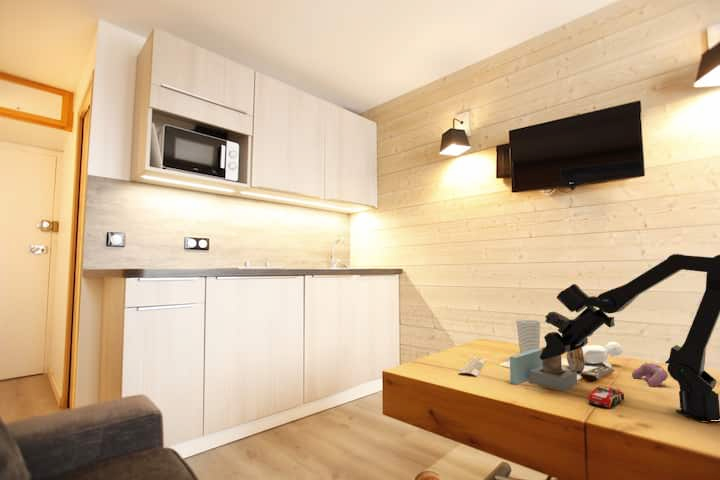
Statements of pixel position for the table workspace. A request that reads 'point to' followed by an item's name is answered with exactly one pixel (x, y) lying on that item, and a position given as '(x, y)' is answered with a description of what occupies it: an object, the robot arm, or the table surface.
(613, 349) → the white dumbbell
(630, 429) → the table surface
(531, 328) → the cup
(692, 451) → the table surface
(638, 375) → the video game controller
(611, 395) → the race car
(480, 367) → the newspaper
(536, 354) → the backstop board
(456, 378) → the table surface
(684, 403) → the robot arm
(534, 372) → the socket block
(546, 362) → the walnut post
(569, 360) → the stone disc
